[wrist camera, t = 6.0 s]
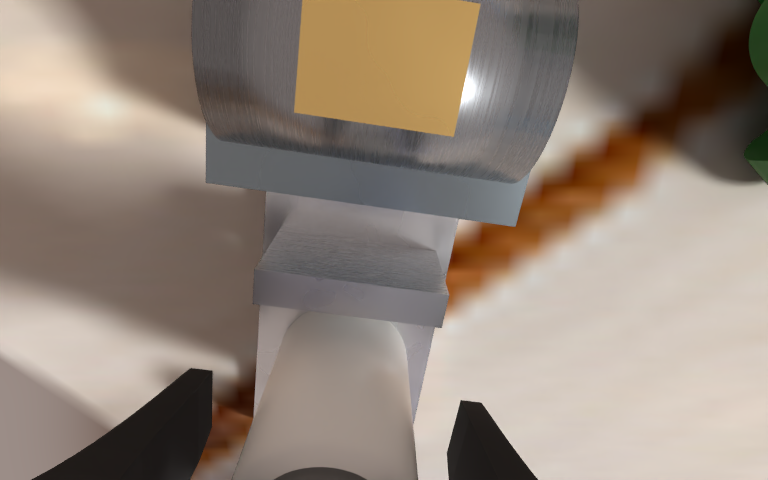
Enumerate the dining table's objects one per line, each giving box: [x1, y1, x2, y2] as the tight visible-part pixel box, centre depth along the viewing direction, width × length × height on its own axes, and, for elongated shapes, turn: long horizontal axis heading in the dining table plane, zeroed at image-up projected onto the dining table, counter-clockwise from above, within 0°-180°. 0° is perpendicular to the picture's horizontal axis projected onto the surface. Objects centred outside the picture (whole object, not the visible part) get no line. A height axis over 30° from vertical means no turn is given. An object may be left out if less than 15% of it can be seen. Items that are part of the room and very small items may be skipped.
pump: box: [232, 311, 418, 480], centre depth 13 cm, size 4×4×7 cm
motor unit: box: [192, 0, 579, 424], centre depth 12 cm, size 17×7×7 cm, turn 172°
